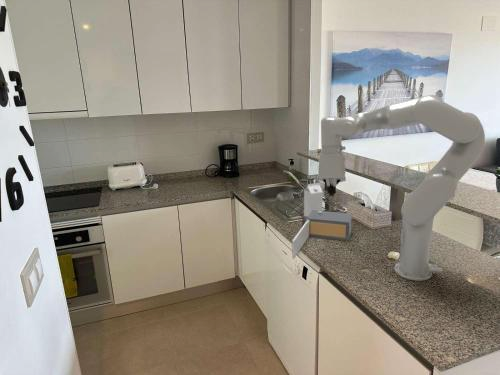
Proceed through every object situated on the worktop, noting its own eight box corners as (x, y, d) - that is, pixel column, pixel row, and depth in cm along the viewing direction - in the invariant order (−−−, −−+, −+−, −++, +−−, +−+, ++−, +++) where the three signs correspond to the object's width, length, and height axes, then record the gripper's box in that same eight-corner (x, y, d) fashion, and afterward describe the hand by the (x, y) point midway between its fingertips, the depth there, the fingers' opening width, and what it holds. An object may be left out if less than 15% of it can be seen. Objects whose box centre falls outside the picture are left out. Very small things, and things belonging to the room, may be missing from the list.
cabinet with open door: (351, 231, 166) (352, 211, 163) (348, 241, 155) (349, 220, 152) (306, 226, 174) (306, 207, 171) (300, 235, 163) (300, 215, 160)
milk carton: (303, 216, 187) (304, 182, 182) (315, 214, 189) (315, 181, 184) (310, 220, 181) (311, 186, 175) (322, 218, 183) (323, 184, 178)
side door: (294, 258, 140) (294, 240, 138) (291, 258, 141) (290, 240, 138) (309, 235, 162) (309, 219, 159) (306, 235, 162) (306, 219, 160)
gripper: (352, 147, 133) (352, 193, 137) (313, 148, 138) (314, 192, 142) (351, 150, 126) (350, 198, 131) (310, 151, 131) (311, 197, 136)
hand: (331, 195), depth 136 cm, fingers closed
